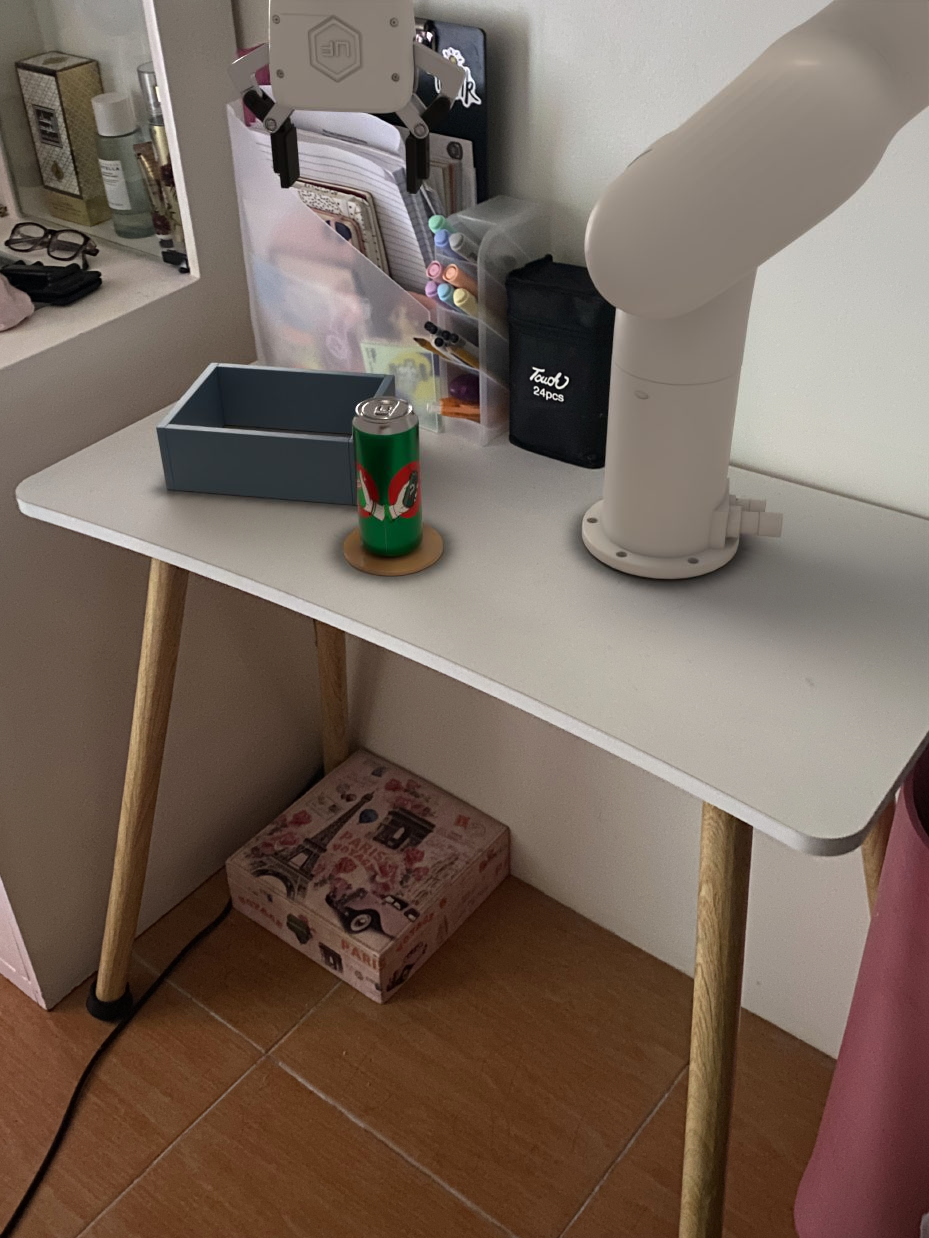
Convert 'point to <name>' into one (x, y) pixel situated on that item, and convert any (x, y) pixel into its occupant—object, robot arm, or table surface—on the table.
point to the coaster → (394, 566)
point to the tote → (261, 458)
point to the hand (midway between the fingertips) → (352, 186)
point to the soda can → (388, 476)
